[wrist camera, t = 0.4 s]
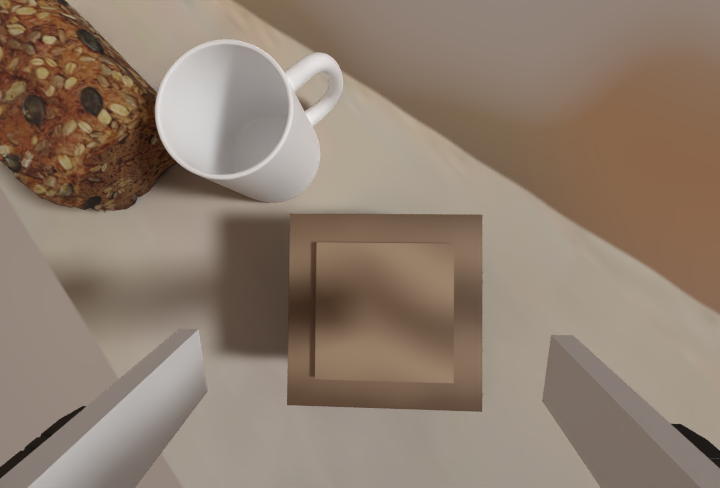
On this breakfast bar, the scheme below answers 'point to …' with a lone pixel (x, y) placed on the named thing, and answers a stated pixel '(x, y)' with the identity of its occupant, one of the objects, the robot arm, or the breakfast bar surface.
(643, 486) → the robot arm
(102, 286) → the breakfast bar surface
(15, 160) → the bread
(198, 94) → the cup
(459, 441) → the breakfast bar surface
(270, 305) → the breakfast bar surface
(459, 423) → the breakfast bar surface
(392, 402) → the lid
